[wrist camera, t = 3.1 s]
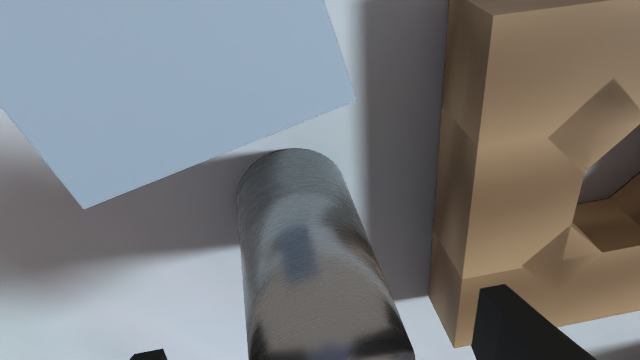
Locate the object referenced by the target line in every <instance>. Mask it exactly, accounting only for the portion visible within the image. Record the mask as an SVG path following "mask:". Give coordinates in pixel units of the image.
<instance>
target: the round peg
mask: <svg viewBox="0 0 640 360" xmlns="http://www.w3.org/2000/svg"><path fill="white" fill-rule="evenodd" d="M237 209H238V222H239V236H240V249H241V262H242V276H243V289H244V303H245V316H246V329H247V343H248V356H249V360H415V354H414V351H413V348H412V345H411V343H410V340H409V338H408V336H407V333H406V331H405V328H404V326H403V323H402V321H401V318H400V316H399V313H398V311H397V308H396V306H395V304H394V301H393V299H392V296H391V294H390V291H389V289H388V286H387V284H386V281H385V279H384V276H383V274H382V272H381V269H380V267H379V264H378V262H377V259H376V257H375V254H374V252H373V249H372V247H371V244H370V242H369V240H368V237H367V235H366V232H365V230H364V227H363V225H362V222H361V220H360V217H359V215H358V213H357V210H356V208H355V205H354V203H353V200H352V198H351V195H350V193H349V190H348V188H347V185H346V183H345V181H344V178H343V176H342V174H341V172H340V170H339V169H338V167H337V166H336V165H335V164H334V163H333V162H332V161H331V160H330V159H329V158H327V157H326V156H324V155H322V154H320V153H318V152H315V151H311V150H307V149H294V148H293V149H285V150H280V151H276V152H273V153H271V154H269V155H266V156H264V157H263V158H261V159H260V160H258V161H257V162H255V163H254V164H253V165H252V166H251V167H250V168H249V169H248V170H247V171H246V173H245V174H244V176H243V177H242V179H241V181H240V184H239V187H238V191H237Z"/></svg>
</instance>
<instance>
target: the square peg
mask: <svg viewBox="0 0 640 360" xmlns="http://www.w3.org/2000/svg"><path fill="white" fill-rule="evenodd" d="M356 100H357V99H356V96H355V93H354V90H353V87H352V84H351V81H350V78H349V75H348V72H347V69H346V66H345V63H344V60H343V56H342V53H341V50H340V47H339V44H338V41H337V38H336V35H335V32H334V29H333V26H332V23H331V20H330V17H329V14H328V11H327V8H326V5H325V2H324V0H0V107H1V108H2V109H3V110H4V112H5V113H6V114H7V115H8V117H9V118H10V119H11V120H12V122H13V123H14V124H15V125H16V126H17V128H18V129H19V130H20V131H21V133H22V134H23V135H24V136H25V138H26V139H27V140H28V141H29V143H30V144H31V145H32V146H33V147H34V149H35V150H36V151H37V152H38V154H39V155H40V156H41V157H42V159H43V160H44V161H45V162H46V164H47V165H48V166H49V167H50V169H51V170H52V171H53V172H54V173H55V175H56V176H57V177H58V178H59V180H60V181H61V182H62V183H63V185H64V186H65V187H66V188H67V190H68V191H69V192H70V193H71V194H72V196H73V197H74V198H75V199H76V201H77V202H78V203H79V204H80V206H81V207H82V208H83V209H86V208H89V207H91V206H94V205H96V204H99V203H101V202H104V201H106V200H109V199H111V198H114V197H116V196H119V195H121V194H124V193H126V192H129V191H131V190H134V189H136V188H139V187H141V186H144V185H146V184H149V183H151V182H154V181H156V180H159V179H161V178H164V177H166V176H169V175H171V174H174V173H176V172H179V171H181V170H184V169H186V168H189V167H191V166H194V165H196V164H199V163H201V162H204V161H206V160H209V159H211V158H214V157H216V156H219V155H221V154H224V153H226V152H229V151H231V150H234V149H236V148H239V147H241V146H244V145H246V144H249V143H251V142H254V141H256V140H259V139H261V138H264V137H266V136H269V135H271V134H274V133H276V132H279V131H281V130H284V129H286V128H289V127H291V126H294V125H296V124H299V123H301V122H304V121H306V120H309V119H311V118H314V117H316V116H319V115H321V114H324V113H326V112H329V111H331V110H334V109H336V108H339V107H341V106H344V105H346V104H349V103H351V102H354V101H356Z"/></svg>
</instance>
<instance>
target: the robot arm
mask: <svg viewBox="0 0 640 360" xmlns="http://www.w3.org/2000/svg"><path fill="white" fill-rule="evenodd" d="M471 346H472V349H473V352H474V354H475V357H476V359H477V360H596V359H595V358H594V357H593V356H591V355H590V354H589V353H588V352H586V351H585V350H584V349H583V348H581V347H580V346H579V345H577V344H576V343H575V342H574V341H572V340H571V339H570V338H569V337H568V336H566V335H565V334H564V333H563V332H561V331H560V330H559V329H558V328H557V327H555V326H554V325H553V324H552V323H551V322H549V321H548V320H547V319H546V318H545V317H544V316H542V315H541V314H540V313H539V312H538V311H536V310H535V309H534V308H533V307H532V306H531V305H529V304H528V303H527V302H526V301H525V300H524V299H522V298H521V297H520V296H519V295H518V294H517V293H515V292H514V291H513V290H512V289H511V288H510V287H508V286H507V285H506V284H501V285H496V286H491V287H485V288H480V291H479V298H478V305H477V311H476V318H475V324H474V331H473V338H472V344H471ZM130 360H167V358H166V355H165V353H164V350H163V349H159V350H154V351H148V352H143V353H138V354H134V355H133V356H132V357H131V358H130Z"/></svg>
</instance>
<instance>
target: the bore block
mask: <svg viewBox="0 0 640 360" xmlns="http://www.w3.org/2000/svg"><path fill="white" fill-rule="evenodd" d="M639 124H640V0H449V7H448V22H447V36H446V51H445V65H444V80H443V94H442V109H441V123H440V138H439V152H438V167H437V181H436V196H435V210H434V225H433V239H432V254H431V268H430V283H429V298H430V300H431V302H432V304H433V307H434V309H435V311H436V313H437V315H438V317H439V319H440V321H441V323H442V325H443V327H444V329H445V331H446V333H447V335H448V337H449V339H450V341H451V343H452V345H453V347H454V348H458V347H463V346H468V345H471V344H472V338H473V331H474V324H475V318H476V311H477V305H478V298H479V291H480V288H485V287H491V286H496V285H501V284H506V285H507V286H508V287H510V288H511V289H512V290H513V291H514V292H515V293H517V294H518V295H519V296H520V297H521V298H522V299H524V300H525V301H526V302H527V303H528V304H529V305H531V306H532V307H533V308H534V309H535V310H536V311H538V312H539V313H540V314H541V315H542V316H544V317H545V318H546V319H547V320H548V321H549V322H551V323H552V324H553V325H554V326H555V327H561V326H566V325H571V324H576V323H580V322H585V321H590V320H595V319H600V318H605V317H610V316H615V315H620V314H624V313H629V312H634V311H639V310H640V173H639V174H638V175H637V176H635V177H634V178H633V179H632V180H631V181H629V182H628V183H627V184H626V185H625V186H623V187H622V188H621V189H620V190H619V191H617V192H616V193H615V194H614V195H613V196H611V197H610V198H609V199H605V200H599V201H593V202H588V203H582V204H577V202H578V198H579V194H580V190H581V187H582V183H583V179H584V175H585V171H586V170H588V169H589V168H590V167H591V166H592V165H593V164H595V163H596V162H597V161H598V160H599V159H600V158H601V157H603V156H604V155H605V154H606V153H607V152H608V151H610V150H611V149H612V148H613V147H614V146H615V145H616V144H618V143H619V142H620V141H621V140H622V139H623V138H624V137H626V136H627V135H628V134H629V133H630V132H631V131H633V130H634V129H635V128H636V127H637V126H638V125H639Z"/></svg>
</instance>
